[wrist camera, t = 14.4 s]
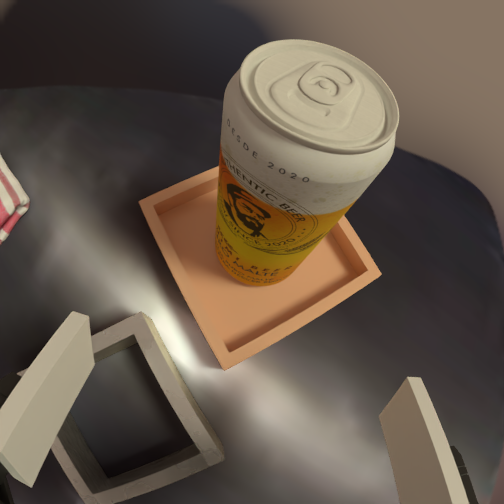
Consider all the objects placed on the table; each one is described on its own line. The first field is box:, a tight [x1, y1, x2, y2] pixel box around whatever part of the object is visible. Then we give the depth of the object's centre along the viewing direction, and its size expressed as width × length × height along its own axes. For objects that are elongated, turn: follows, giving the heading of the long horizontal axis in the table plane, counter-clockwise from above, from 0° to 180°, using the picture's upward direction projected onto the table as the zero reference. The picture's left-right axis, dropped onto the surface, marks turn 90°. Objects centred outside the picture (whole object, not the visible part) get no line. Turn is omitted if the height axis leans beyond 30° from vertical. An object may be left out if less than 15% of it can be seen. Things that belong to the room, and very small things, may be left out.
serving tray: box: [138, 166, 382, 371], centre depth 23 cm, size 13×13×2 cm
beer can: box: [215, 39, 399, 286], centre depth 16 cm, size 6×6×15 cm
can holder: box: [17, 312, 225, 504], centre depth 17 cm, size 10×10×4 cm
